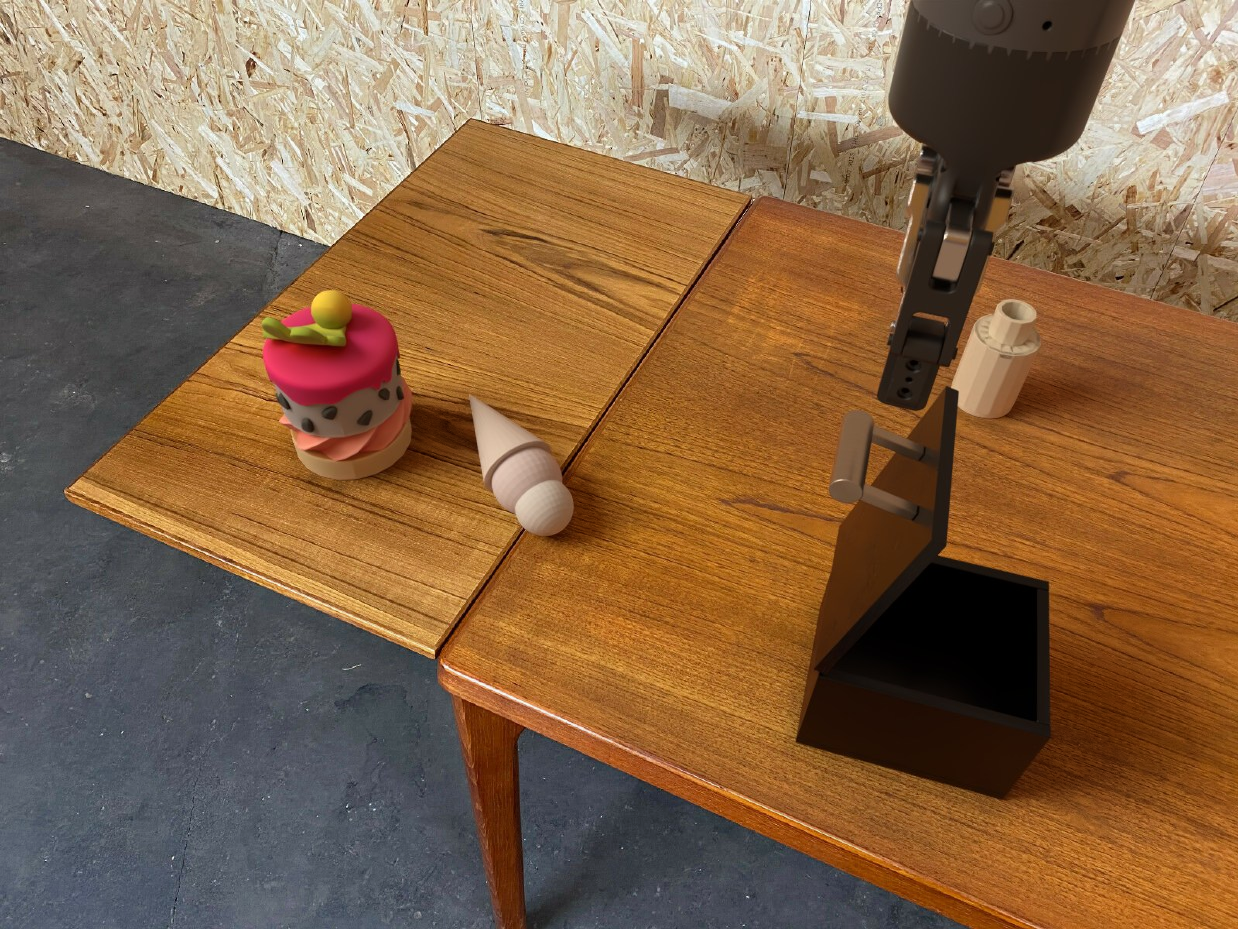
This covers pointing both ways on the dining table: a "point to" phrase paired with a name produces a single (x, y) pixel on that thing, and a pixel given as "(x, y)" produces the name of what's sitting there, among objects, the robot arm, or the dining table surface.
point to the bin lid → (885, 519)
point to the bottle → (997, 360)
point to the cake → (339, 386)
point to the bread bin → (942, 681)
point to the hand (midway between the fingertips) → (911, 345)
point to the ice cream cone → (521, 472)
